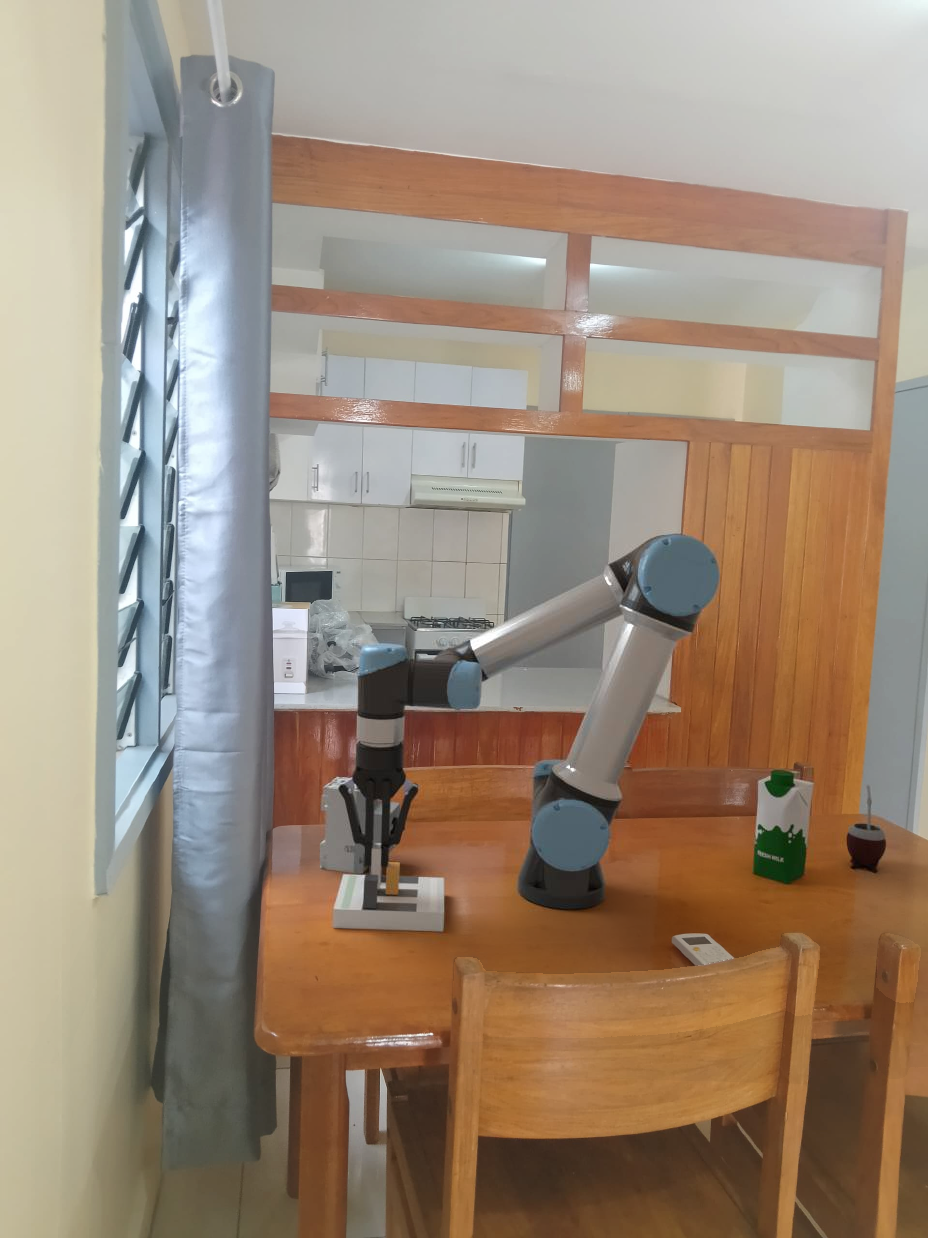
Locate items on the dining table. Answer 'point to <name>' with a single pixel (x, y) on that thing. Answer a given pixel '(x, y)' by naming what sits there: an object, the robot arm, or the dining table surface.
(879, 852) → the mate gourd
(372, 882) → the block
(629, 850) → the dining table surface
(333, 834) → the circuit breaker
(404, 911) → the panel
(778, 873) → the milk carton
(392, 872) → the block
